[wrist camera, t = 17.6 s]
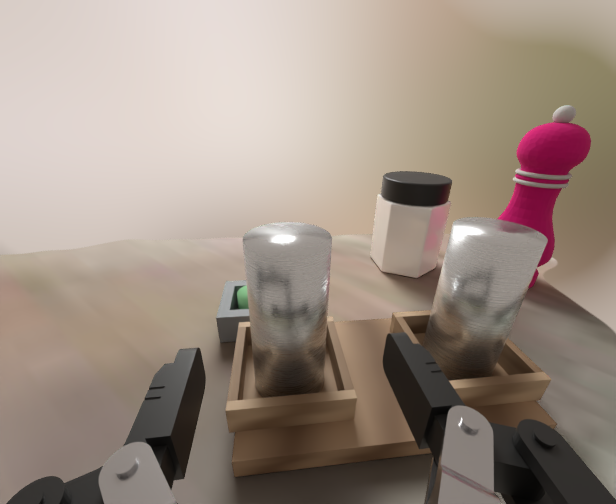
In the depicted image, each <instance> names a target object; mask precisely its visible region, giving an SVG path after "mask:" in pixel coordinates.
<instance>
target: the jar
mask: <svg viewBox="0 0 616 504" xmlns="http://www.w3.org/2000/svg"><path fill="white" fill-rule="evenodd" d="M451 185H452V180H451V179H450V178H448V177H445V176H441V175H437V174H431V173H424V172H408V171H405V172H403V171H400V172H390V173H386V174H385V175H384V176H383V182H382V190H381V194H378V196H377V204H376V213H375V221H374V229H373V237H372V245H371V253H370V257H371V258H372V259H373V261H374V262H375V263H376V265H377V266H378V267H379V268H380V270H381V271H382V272H387V273H392V274H397V275H402V276H408V277H413V278H418V277H420V276H422V275H423V274H425V273H427V272H429V271H431V270H432V269H434V268H436V264H437V260H438V256H439V252H440V247H441V243H442V239H443V235H444V231H445V227H446V223H447V218H448V214H449V210H450V206H451V202H450V201H448V198H449V194H450V189H451Z"/></svg>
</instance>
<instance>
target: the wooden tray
mask: <svg viewBox="0 0 616 504" xmlns="http://www.w3.org/2000/svg"><path fill="white" fill-rule="evenodd" d="M430 313H431V310H426V311H411V312H395V313H393V314H392V318H388V319H372V320H357V321H342V322H334V320H333V317H332V316H331V317H327V333H326V350H325V368H324V382H323V386H322V388H321V390H320V392H319V393H311V394H300V395H289V396H279V397H268V398H263V397H262V396H261V395H260V394H259V392H258V390H257V388H256V384H255V374H254V363H253V351H252V340H251V329H250V322H239V326H238V332H237V339H236V345H235V352H234V359H233V365H232V372H231V378H230V385H229V391H228V398H227V405H226V416H227V422H228V428H229V433H231V432H235V438H234V447H233V456H232V466H233V471H234V477H239V476H247V475H255V474H264V473H272V472H280V471H288V470H296V469H305V468H313V467H321V466H329V465H337V464H345V463H354V462H362V461H370V460H378V459H386V458H395V457H403V456H411V455H419V454H427V453H431V451H430V448H426V449H419V448H418V446H417V443H416V441H415V439H414V437H413V435H412V432H411V430H410V428H409V426H408V423H407V421H406V419H405V417H404V415H403V412H402V410H401V408H400V406H399V404H398V401H397V399H396V397H395V395H394V392H393V390H392V388H391V386H390V384H389V381H388V379H387V377H386V375H385V372H384V369H383V354H384V348H385V342H386V337H387V334H388V333H400V332H405V333H407V335H408V336H409V338H410V339H411V341H412V342H413V344H417V343H419V344H420V345H421V346H422V345H423V341H424V337H425V333H426V329H427V325H428V321H429V317H430ZM550 381H551V378H549V377H548V376H547V375H546V374H545V373H544V372H543V371H542V370H541V369H540V368H539V367H538V366H537V365H536V364H535V363H534V362H533V361H532V360H531V359H529V358H528V357H527V356H526V355H525V354H524V353H523V352H522V351H521V350H520V349H519V348H518V347H517V346H516V345H515V344H514V343H513V342H512V341H510V340H509V339H508V338H507V340H506V342H505V345H504V347H503V350H502V352H501V354H500V357H499V359H498V362H497V364H496V366H495V369H494V371H493V374H492V376H491V377H483V378H472V379H462V380H451V381H449V382H450V383H451V385H452V386H453V388H454V389H455V391H456V392H457V394H458V395H459V397H460V398H461V400H462V401H463V403H464V404H465V405H466V406H467V407H470V408H472V409H474V410H476V411H477V412H479V413H480V414H482V415H483V416H484V417H485V418H486V419H487V421H488V422H491V423H496V424H500V425H505V426H510V427H515V428H517V426H518V424H519V422H520V421H522V420H524V419H533V420H537V421H540V422H542V423H544V424H546V425H548V426H550V427H551V428H553V429H554V428H555V427H556V425H557V423H556V422H555V421H554V420H553V419H552V418H551V417H550V416H549V415H548V414H547V413H546V411H545V410H544V409H543V408H542V407H541V406H540V405H539V404H538V403H537V402H536V401H535V400H540V399H541V397H542V396H543V394H544V392H545V390H546V388H547V386H548V385H549V383H550Z"/></svg>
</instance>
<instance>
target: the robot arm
mask: <svg viewBox="0 0 616 504" xmlns="http://www.w3.org/2000/svg"><path fill="white" fill-rule="evenodd" d="M383 369H384V372H385V375H386V377H387V379H388V381H389V384H390V386H391V388H392V390H393V392H394V395H395V397H396V399H397V401H398V404H399V406H400V408H401V410H402V412H403V415H404V417H405V419H406V421H407V423H408V426H409V428H410V430H411V432H412V435H413V437H414V439H415V441H416V443H417V446H418V448H419V449H426V448H430V451H431V453H432V455H433V458H432V462H431V468H430V473H429V479H428V485H427V491H426V497H425V503H424V504H500V499H499V497H498V496H497V495H495V493H494V492H498V493H501V495H502V497H503V499H504V500H505V502H506V504H616V500H615V498H614V497H613V496H612V495H611V494H610V493H609V491H608V490H607V489H606V488H605V487H604V485H603V484H602V483H601V482H600V481H599V480H598V478H597V477H596V476H595V475H594V474H593V473H592V471H591V470H590V469H589V468H588V467H587V466H586V464H585V463H584V462H583V461H582V460H581V458H580V457H579V456H578V455H577V454H576V453H575V451H574V450H573V449H572V448H571V447H570V446H569V444H568V443H567V442H566V441H565V440H564V438H563V437H562V436H561V435H560V434H559V433H558V432H556V431H555V430H554V429H553V428H551V427H550V426H548V425H546V424H544V423H542V422H540V421H537V420H533V419H524V420H522V421H520V422H519V424H518V426H517V428H515V427H510V426H505V425H500V424H496V423H491V422H488V421H487V419H486V418H485V417H484V416H483V415H482V414H480V413H479V412H477V411H476V410H474V409H472V408H470V407H467V406H466V405H465V404H464V403H463V401H462V400H461V398H460V397H459V395H458V394H457V392H456V391H455V389H454V388H453V386H452V385H451V383H450V382H449V380H448V379H447V377H446V376H445V374H444V373H443V372H442V370H441V369H440V367H439V366H438V364H436V361H435V360H434V358H433V357H432V355H431V354H430V352H429V351H428V350H426V349H425V348H424V347H423V346H421V345H420V344H419V343H417V344H413V342H412V341H411V339H410V338H409V336H408V335H407V333H405V332H400V333H388V334H387V337H386V342H385V348H384V354H383ZM204 390H205V371H204V366H203V360H202V355H201V351H200V348H188V349H180V350H179V351H178V353H177V356H176V358H175V361H174V363H170V364H164V365H163V367H162V368H161V369H160V370H159V371H158V372H157V373H156V374H155V376H154V378H153V380H152V383H151V385H150V387H149V390H148V392H147V394H146V396H145V401H143V403H142V406H141V408H140V410H139V413H138V415H137V417H136V419H135V422H134V424H133V426H132V429H131V431H130V433H129V436H128V438H127V440H126V442H125V444H124V446H123V447H122V448H120V449H119V450H117V451H116V452H115V453H114V454H112V455H111V456H110V458H109V459H108V460H107V461H106V462H105V464H104V466H102V467H100V468H99V469H97V470H94V471H92V472H90V473H88V474H85V475H83V476H80V477H78V478H76V479H73V480H71V481H69V482H66V483H63V481H62V480H61V479H60V478H58V477H55V476H49V477H44V478H41V479H38V480H36V481H34V482H32V483H30V484H29V485H27V486H25V487H24V488H23V489H21V490H20V491H19V492H18V493H17V494H15V495H14V496H13V497H12V498H11V499H10V500H9V501H8V503H7V504H178V503H177V502H176V500H175V498H174V496H173V494H172V492H171V489H172V485H173V481H174V480H179V479H184V477H185V473H186V468H187V464H188V460H189V455H190V451H191V447H192V442H193V438H194V434H195V429H196V425H197V421H198V416H199V412H200V408H201V403H202V399H203V394H204Z"/></svg>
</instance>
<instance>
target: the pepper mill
mask: <svg viewBox="0 0 616 504" xmlns="http://www.w3.org/2000/svg"><path fill="white" fill-rule="evenodd" d="M575 115H576V110H575V108H574V107H573V106H570V105H566V106H562V107H560V108H559V109H557V110H556V111H555V112H554V114H553V121H554V122H553V123H548V124H544V125H540V126H538V127H535V128H533V129H532V130H530V131H529V132H528V133H527V134H526V135H525V136H524V137H523V138H522V140H521V142H520V144H519V146H518V149H517V158H518V160H519V162H520V164H521V168H519V169H517V170H516V173H517V174H516V175H515V177H514V178H513V180H514V181H515V182H516V185H515V189H514V194H513V196H512V198H511V200H510V203H509V204H508V206H507V208H506V209H505V211H504V212H503V213H502V214H501V215H500V217H499V218H498V219H499V220H504V221H509V222H513V223H517V224H521V225H524V226H527V227H529V228H532V229H534V230H536V231H538V232H540V233H542V234H543V235H544V236H546V238H547V239H548V242H547V244H546V247H545V249H544V251H543V254H542V256H541V259H540V261H539V263H538V266H537V267H539V266H541V265H543V264H545V263H547V262H548V261H549V260H550V259H551V257H552V254H553V250H554V242H555V239H554V232H553V223H552V214H553V208H554V204H555V201H556V198H557V197H558V195H559V193H560V191H561V189H562V188H566V187H567V186H568V181H569V179H570V178H571V177H572V175H571V174H570V173H568V172H569V171H570V170H571V169H572V168H573V167H575V166H577V165H578V164H580V163H581V162H582V161H583V160H584V159H585V158H586V156H587V154H588V152H589V150H590V144H591V139H590V135H589V133H588V132H587V131H586V130H585V129H584V128H582V127H580V126H579V125H576V124H572V123H568V122H570V121H571V120H572V119H573V118H574V117H575ZM538 274H539V273H538V270H537V269H536V271H535V273H534V275H533V278H532V280H531V283H530V285H529V287H528V288H531V287H532V286H533V285H534V283H535V281H536V279H537V276H538Z"/></svg>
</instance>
